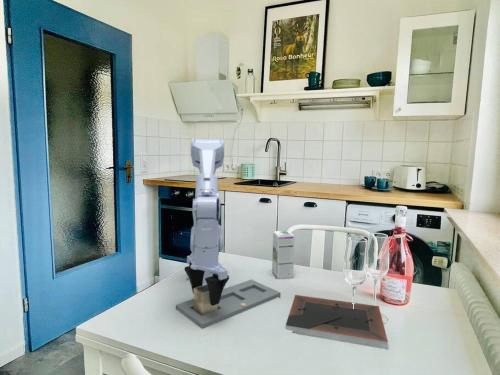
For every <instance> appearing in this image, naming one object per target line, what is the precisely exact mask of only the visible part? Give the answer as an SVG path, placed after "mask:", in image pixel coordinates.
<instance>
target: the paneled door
mask: <svg viewBox="0 0 500 375" xmlns="http://www.w3.org/2000/svg"><path fill="white" fill-rule="evenodd" d="M281 295H282V294H281V292H280V291H278V290H276V289H273V288H271V287H269V286H267V285H265V284H262V283H261V282H258V281H256V280H254V279H250V280H249V279H248V280H246V281H243V282H239V283H236V284H233V285H231V286H228V287H224V289H223V291H222V294H221V298H220V302H219V304H218V310H216V311H213V312H211V313H208V314H206V315H203V316H201V315H200V314H198V313H197V312H195V311H194V298H192V299H189V300H186V301H183V302H181V303H178V304H176V305H175V310H176V311H178V312H179V313H180V314H182V315H183V316H185V317H186V318H187V319H189V320H190V321H192V323H194V324H195V325H197V326H198V327H199V328H201V329H202V330H203V329H205V328H208V327H210V326H212V325H213V326H214V324H218V323H219V322H222V321H224V320H225V321H226V320H227V319H229V318H232V317H234V316H237V315H239V314H241V313H244V312H246V311H248V310H251V309H254V308H255V307H258V306H261V305H263V304H265V303H267V302H270V301H273V300H274V299H277V298H278V299H281Z"/></svg>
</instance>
